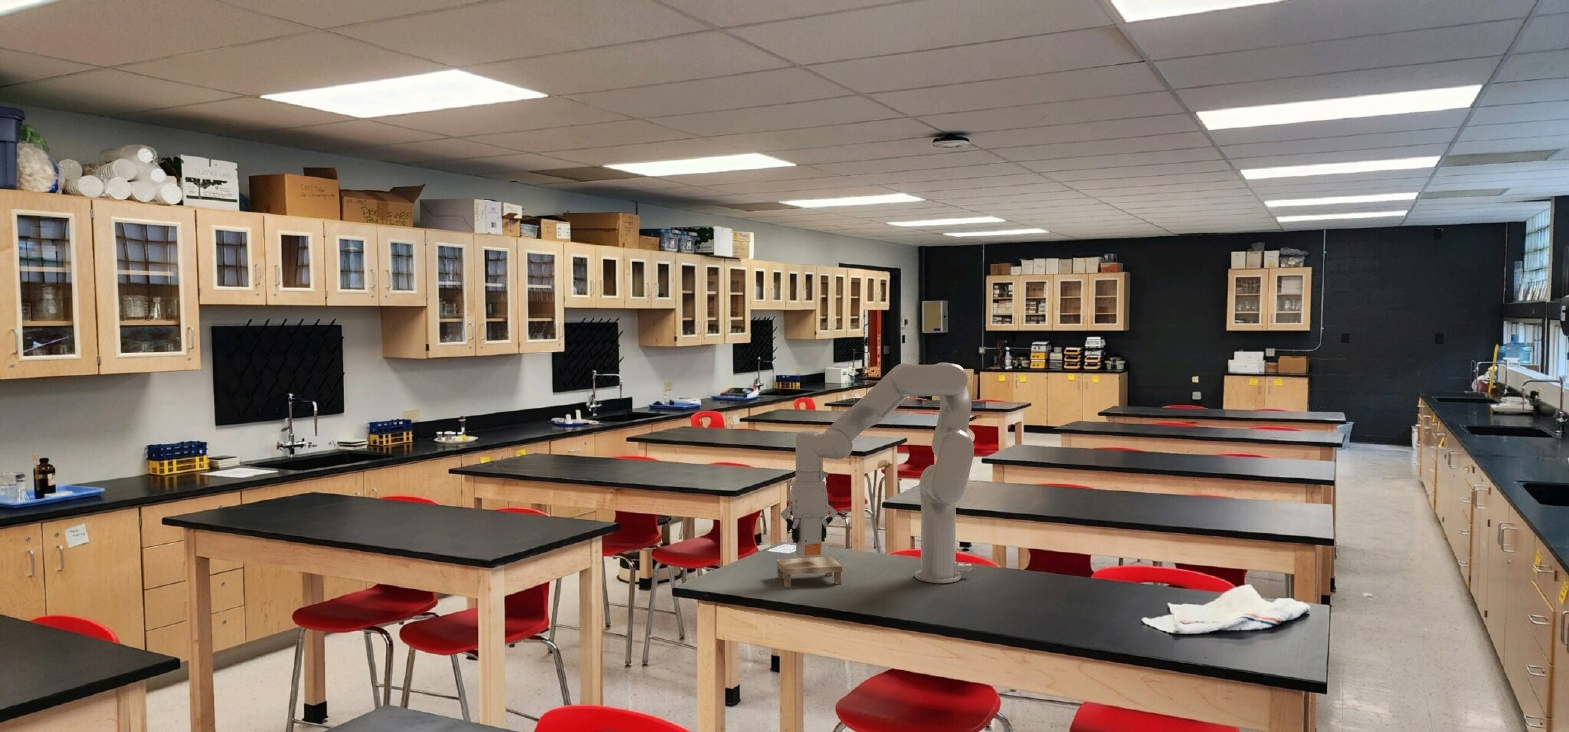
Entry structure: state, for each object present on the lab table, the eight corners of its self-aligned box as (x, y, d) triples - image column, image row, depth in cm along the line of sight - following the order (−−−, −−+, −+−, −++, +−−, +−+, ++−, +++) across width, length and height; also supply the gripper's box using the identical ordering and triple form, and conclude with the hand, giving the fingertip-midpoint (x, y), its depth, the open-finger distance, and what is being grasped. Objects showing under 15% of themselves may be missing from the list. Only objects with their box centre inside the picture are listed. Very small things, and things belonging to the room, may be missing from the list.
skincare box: (803, 558, 256) (803, 515, 256) (795, 555, 260) (795, 512, 260) (822, 556, 259) (822, 513, 259) (814, 553, 263) (814, 510, 263)
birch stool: (831, 574, 267) (831, 556, 267) (842, 584, 256) (842, 566, 256) (776, 577, 264) (776, 559, 263) (784, 587, 253) (784, 569, 253)
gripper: (836, 473, 264) (835, 537, 265) (775, 475, 261) (775, 539, 261) (843, 477, 257) (843, 542, 258) (781, 479, 253) (781, 545, 254)
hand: (808, 540), depth 260 cm, fingers closed on skincare box, 6 cm apart
